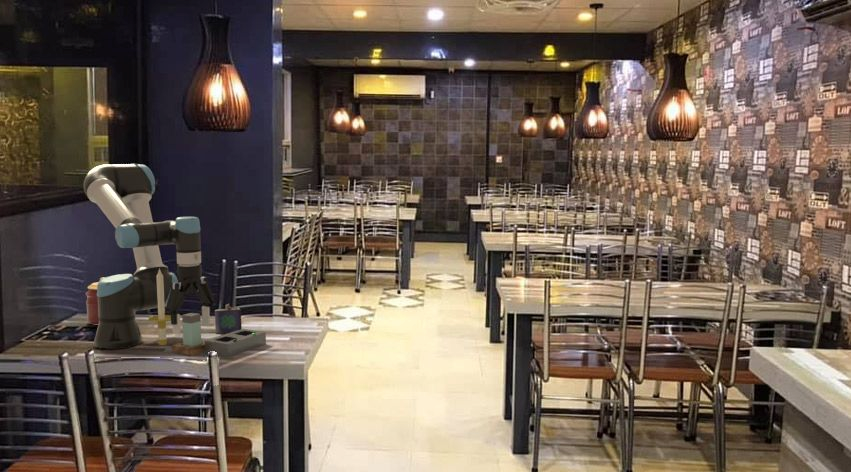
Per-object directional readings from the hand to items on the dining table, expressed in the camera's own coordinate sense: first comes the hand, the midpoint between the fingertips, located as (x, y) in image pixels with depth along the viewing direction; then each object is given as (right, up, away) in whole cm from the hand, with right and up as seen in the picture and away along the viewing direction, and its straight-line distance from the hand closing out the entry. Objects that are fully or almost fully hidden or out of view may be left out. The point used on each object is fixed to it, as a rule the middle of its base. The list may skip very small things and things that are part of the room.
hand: (191, 329), depth 242 cm
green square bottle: (0, -7, +1) cm, 7 cm away
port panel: (+14, -7, +3) cm, 16 cm away
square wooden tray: (0, -8, +1) cm, 8 cm away
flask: (+5, -5, +26) cm, 27 cm away
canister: (-47, -3, +44) cm, 65 cm away
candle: (-13, -7, +9) cm, 17 cm away
